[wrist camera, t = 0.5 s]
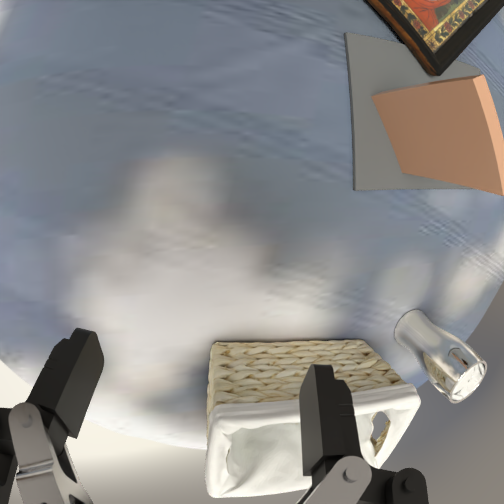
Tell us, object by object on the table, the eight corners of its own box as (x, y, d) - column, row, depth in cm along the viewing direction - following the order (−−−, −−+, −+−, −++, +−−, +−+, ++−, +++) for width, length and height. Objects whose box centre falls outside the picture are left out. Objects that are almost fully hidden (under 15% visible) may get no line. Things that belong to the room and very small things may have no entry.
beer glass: (402, 304, 42) (467, 361, 28) (433, 307, 43) (495, 357, 29) (384, 345, 44) (439, 408, 30) (416, 345, 45) (470, 400, 31)
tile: (402, 172, 35) (503, 196, 20) (371, 96, 31) (472, 78, 16) (413, 166, 35) (514, 186, 20) (383, 91, 31) (484, 73, 16)
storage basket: (373, 331, 42) (430, 395, 29) (342, 411, 47) (378, 475, 33) (202, 331, 38) (210, 421, 24) (198, 419, 42) (204, 501, 28)
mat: (343, 33, 29) (346, 32, 28) (477, 69, 32) (479, 69, 32) (353, 189, 35) (355, 190, 34) (481, 188, 38) (484, 189, 38)
